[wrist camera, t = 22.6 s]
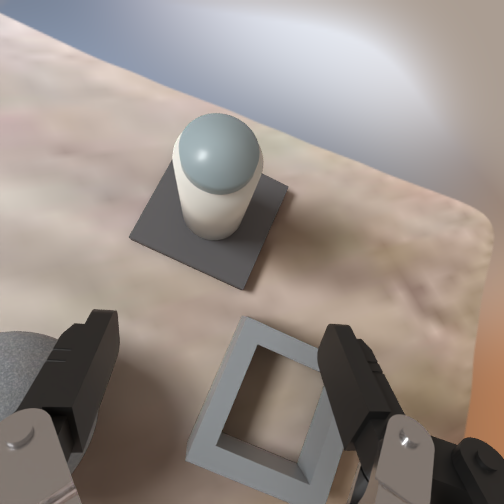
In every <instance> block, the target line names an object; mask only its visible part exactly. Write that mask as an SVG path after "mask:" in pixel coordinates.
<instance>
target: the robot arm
mask: <svg viewBox="0 0 504 504" xmlns="http://www.w3.org/2000/svg"><path fill="white" fill-rule="evenodd" d="M119 345H120V337H119V325H118V314H117V311H114V310H98V309H94V310H92V312H91V313H90V315H89V317H88V319H87V321H86V323H85V324H76V323H74V324H73V325H72V326H71V327H70V328H69V329H67V330H66V331H65V332H64V333H63V334H61V336H60V338H59V339H58V341H57V343H56V344H55V346H54V348H53V351H51V353H50V354H49V356H48V358H47V361H46V362H45V363H44V365H43V366H42V368H41V370H40V371H39V373H38V375H37V377H36V378H35V380H34V382H33V383H32V385H31V387H30V388H29V390H28V392H27V393H26V395H25V397H24V399H23V400H22V402H21V404H20V405H19V407H18V408H17V410H16V411H15V412H14V413H13V414H11V415H9V416H8V417H6V418H5V419H3V420H2V421H1V422H0V504H82V503H81V500H80V498H79V495H78V492H77V489H76V487H75V485H74V482H73V479H72V476H71V474H70V471H69V468H68V465H67V462H68V460H69V457H70V455H71V453H83V451H84V448H85V446H86V443H87V440H88V437H89V434H90V432H91V429H92V426H93V423H94V420H95V418H96V415H97V412H98V409H99V406H100V404H101V401H102V398H103V395H104V392H105V390H106V387H107V384H108V381H109V378H110V376H111V373H112V370H113V367H114V364H115V362H116V359H117V356H118V352H119ZM317 362H318V367H319V370H320V373H321V376H322V380H323V383H324V386H325V389H326V392H327V396H328V399H329V402H330V405H331V409H332V412H333V415H334V418H335V421H336V425H337V428H338V431H339V434H340V438H341V441H342V444H343V447H344V450H345V451H356V452H357V455H358V457H359V460H360V462H359V464H358V467H357V470H356V473H355V477H354V480H353V483H352V487H351V490H350V494H349V497H348V500H347V504H504V459H503V458H502V456H501V455H500V454H499V453H498V452H497V451H496V450H495V449H493V448H492V447H491V446H490V445H488V444H487V443H485V442H483V441H481V440H479V439H476V438H471V437H470V438H465V439H463V440H462V441H461V442H460V443H459V444H458V445H456V444H453V443H450V442H447V441H444V440H441V439H439V438H436V437H433V436H430V435H429V433H428V432H427V430H426V429H425V428H424V427H423V426H422V425H421V424H420V423H419V422H417V421H416V420H414V419H413V418H411V417H409V416H406V415H405V414H404V412H403V410H402V408H401V406H400V405H399V403H398V401H397V399H396V397H395V395H394V393H393V391H392V389H391V387H390V385H389V383H388V381H387V379H386V377H385V375H384V374H383V373H382V372H383V371H382V369H381V367H380V365H379V364H378V363H377V360H376V358H375V356H374V354H373V352H372V350H371V349H370V348H369V347H368V346H367V345H366V344H365V342H364V341H363V340H362V339H356V337H355V335H354V333H353V331H352V329H351V327H350V326H349V325H341V324H329V325H328V326H327V328H326V331H325V333H324V336H323V338H322V341H321V343H320V346H319V348H318V352H317Z"/></svg>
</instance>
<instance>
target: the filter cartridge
mask: <svg viewBox="0 0 504 504" xmlns="http://www.w3.org/2000/svg"><path fill="white" fill-rule="evenodd" d="M172 156H173V166H174V171H175V177H176V182H177V187H178V192H179V197H180V202H181V207H182V213H183V218H184V221H185V223H186V225H187V227H188V228H189V229H190V230H191V231H192V232H193V233H194V234H195V235H197V236H198V237H200V238H203V239H206V240H221V239H224V238H227V237H229V236H230V235H232V234H233V233H234V232H235V231H236V230H237V229H238V227H239V225H240V224H241V221H242V219H243V217H244V214H245V212H246V210H247V207H248V205H249V203H250V200H251V198H252V196H253V193H254V191H255V189H256V186H257V184H258V182H259V179H260V177H261V174H262V170H263V155H262V151H261V148H260V146H259V144H258V141H257V139H256V137H255V135H254V133H253V132H252V130H251V129H250V128H249V127H248V126H247V125H246V124H245V123H244V122H242V121H241V120H239V119H237V118H235V117H233V116H230V115H226V114H220V113H213V114H207V115H203V116H200V117H198V118H196V119H195V120H193V121H192V122H191V123H189V124H188V125H187V127H186V128H185V129H184V131H183V132H182V133H181V134H180V135H179V137H178V139H177V140H176V143H175V145H174V149H173V155H172Z"/></svg>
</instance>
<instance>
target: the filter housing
mask: <svg viewBox="0 0 504 504" xmlns="http://www.w3.org/2000/svg"><path fill="white" fill-rule="evenodd" d="M257 344H258V345H260V346H263V347H265V348H267V349H269V350H272V351H274V352H276V353H278V354H281V355H283V356H285V357H287V358H290V359H292V360H294V361H296V362H299V363H301V364H303V365H305V366H307V367H310V368H312V369H314V370H316V371H319V372H320V370H319V367H318V362H317V352H318V348H316V347H313V346H311V345H309V344H307V343H304V342H302V341H300V340H298V339H296V338H293V337H291V336H289V335H287V334H285V333H282V332H280V331H278V330H276V329H274V328H271V327H269V326H267V325H265V324H262V323H260V322H258V321H256V320H254V319H251V318H249V317H247V316H242V317H241V319H240V321H239V324H238V326H237V328H236V331H235V333H234V335H233V338H232V340H231V342H230V344H229V347H228V349H227V351H226V354H225V356H224V358H223V361H222V363H221V365H220V368H219V370H218V372H217V374H216V377H215V379H214V381H213V384H212V386H211V388H210V391H209V393H208V395H207V397H206V400H205V402H204V404H203V407H202V409H201V411H200V414H199V416H198V418H197V420H196V423H195V425H194V427H193V430H192V432H191V434H190V437H189V439H188V441H187V450H186V460H185V461H187V462H190V463H192V464H195V465H197V466H200V467H202V468H204V469H207V470H209V471H212V472H214V473H217V474H219V475H222V476H224V477H227V478H229V479H231V480H234V481H236V482H239V483H241V484H244V485H246V486H249V487H251V488H254V489H256V490H258V491H261V492H263V493H266V494H268V495H271V496H273V497H276V498H278V499H281V500H283V501H285V502H288V503H290V504H326V501H327V498H328V495H329V492H330V489H331V486H332V482H333V479H334V476H335V473H336V470H337V467H338V464H339V461H340V457H341V454H342V451H343V448H344V447H343V444H342V441H341V438H340V434H339V431H338V428H337V425H336V421H335V418H334V415H333V412H332V409H331V405H330V402H329V399H328V396H327V392H326V389H325V386H324V388H323V390H322V393H321V396H320V399H319V402H318V405H317V408H316V410H315V413H314V416H313V419H312V422H311V425H310V428H309V430H308V433H307V436H306V439H305V442H304V445H303V448H302V451H301V453H300V456H299V459H298V462H297V463H294V462H292V461H289V460H287V459H285V458H282V457H280V456H277V455H275V454H273V453H270V452H268V451H266V450H263V449H261V448H258V447H256V446H254V445H251V444H249V443H246V442H244V441H242V440H239V439H237V438H235V437H232V436H230V435H227V434H225V433H223V432H222V429H223V427H224V424H225V422H226V420H227V417H228V415H229V412H230V410H231V407H232V405H233V403H234V400H235V398H236V395H237V393H238V390H239V388H240V386H241V383H242V381H243V378H244V376H245V374H246V371H247V369H248V366H249V364H250V361H251V359H252V357H253V354H254V352H255V349H256V347H257Z"/></svg>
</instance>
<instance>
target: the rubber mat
mask: <svg viewBox="0 0 504 504" xmlns="http://www.w3.org/2000/svg"><path fill="white" fill-rule="evenodd" d="M287 189H288V186H286V185H284V184H282V183H280V182H278V181H276V180H274V179H272V178H270V177H268V176H266V175H264V174H261V177H260V179H259V182H258V184H257V186H256V189H255V191H254V193H253V196H252V198H251V200H250V203H249V205H248V207H247V210H246V212H245V214H244V217H243V219H242V221H241V224H240V225H239V227H238V229H237V230H236V231H235V232H234V233H233V234H232V235H230V236H229V237H227V238H224V239H221V240H206V239H203V238H200V237H198V236H197V235H195V234H194V233H193V232H192V231H191V230H190V229H189V228H188V227H187V225H186V223H185V221H184V218H183V213H182V207H181V202H180V197H179V192H178V187H177V182H176V177H175V171H174V166H173V159H172V161H171V163H170V164H169V166H168V168H167V170H166V172H165V173H164V175H163V177H162V179H161V180H160V182H159V184H158V186H157V188H156V189H155V191H154V193H153V195H152V196H151V198H150V200H149V202H148V204H147V205H146V207H145V209H144V211H143V213H142V214H141V216H140V218H139V220H138V221H137V223H136V225H135V227H134V229H133V230H132V232H131V234H130V236H129V238H130V239H131V240H133V241H135V242H137V243H140V244H142V245H144V246H146V247H148V248H150V249H153V250H155V251H157V252H159V253H161V254H164V255H166V256H168V257H170V258H172V259H174V260H177V261H179V262H181V263H183V264H185V265H188V266H190V267H192V268H194V269H196V270H198V271H201V272H203V273H205V274H207V275H209V276H212V277H214V278H216V279H218V280H220V281H222V282H225V283H227V284H229V285H231V286H233V287H235V288H238V289H240V290H243V289H244V286H245V284H246V282H247V280H248V277H249V275H250V273H251V271H252V268H253V266H254V264H255V262H256V259H257V257H258V255H259V253H260V250H261V248H262V246H263V244H264V241H265V239H266V237H267V235H268V232H269V230H270V228H271V226H272V223H273V221H274V219H275V216H276V214H277V212H278V210H279V207H280V205H281V203H282V201H283V198H284V196H285V194H286V192H287Z"/></svg>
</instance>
